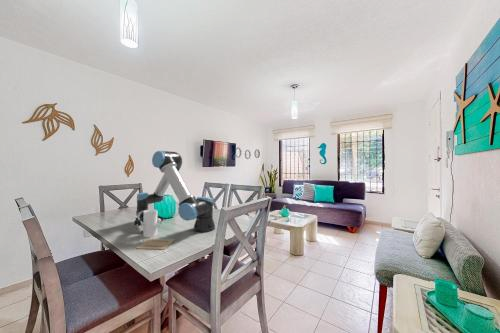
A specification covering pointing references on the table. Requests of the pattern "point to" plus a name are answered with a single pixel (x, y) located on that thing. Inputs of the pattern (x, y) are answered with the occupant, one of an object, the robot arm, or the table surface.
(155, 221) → the cup
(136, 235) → the table surface
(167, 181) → the robot arm
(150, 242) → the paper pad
